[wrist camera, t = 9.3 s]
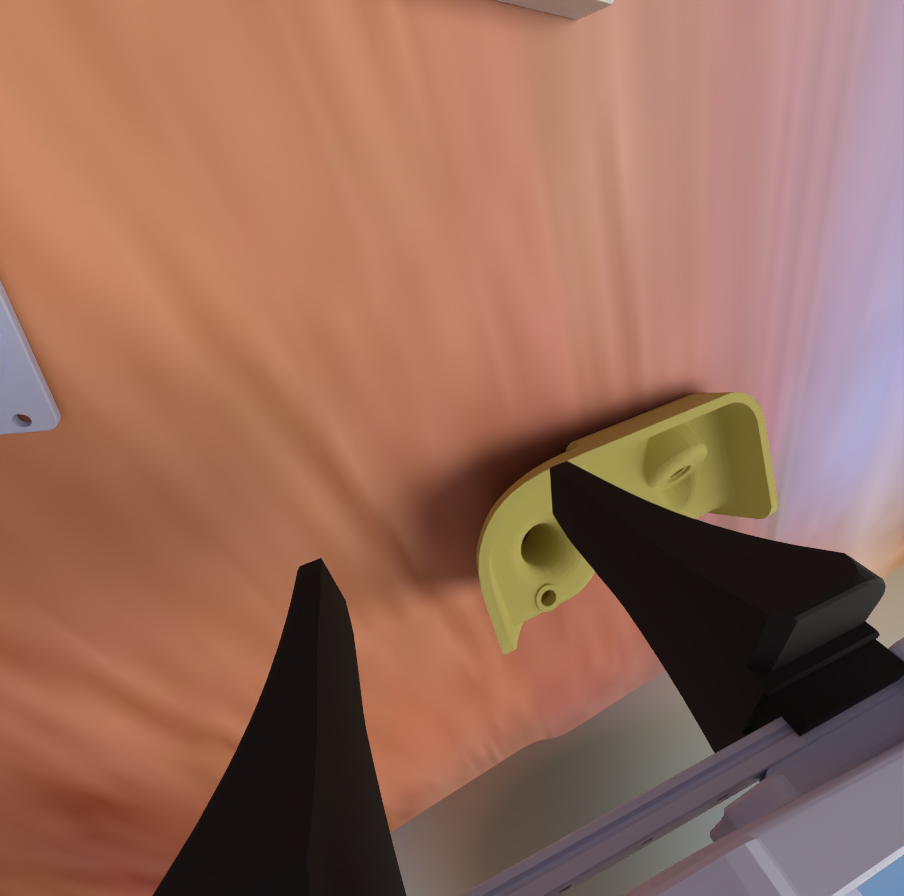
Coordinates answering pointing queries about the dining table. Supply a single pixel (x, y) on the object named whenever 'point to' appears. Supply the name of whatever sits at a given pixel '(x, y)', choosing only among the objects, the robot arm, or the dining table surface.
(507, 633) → the plastic component
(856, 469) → the dining table surface
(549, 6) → the housing
